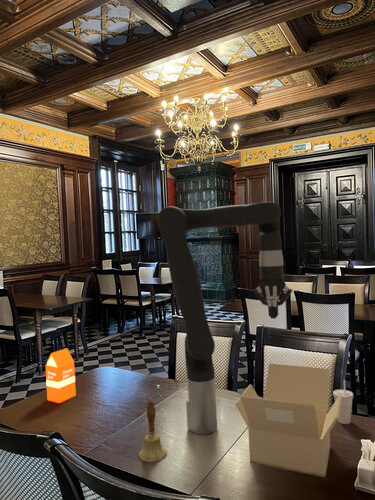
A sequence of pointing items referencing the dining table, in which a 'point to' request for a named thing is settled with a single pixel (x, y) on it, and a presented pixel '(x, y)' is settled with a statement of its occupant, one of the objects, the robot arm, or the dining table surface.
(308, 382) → the carton
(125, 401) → the dining table surface
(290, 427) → the front flap
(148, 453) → the hand bell
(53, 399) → the orange juice
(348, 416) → the smoothie
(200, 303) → the robot arm
